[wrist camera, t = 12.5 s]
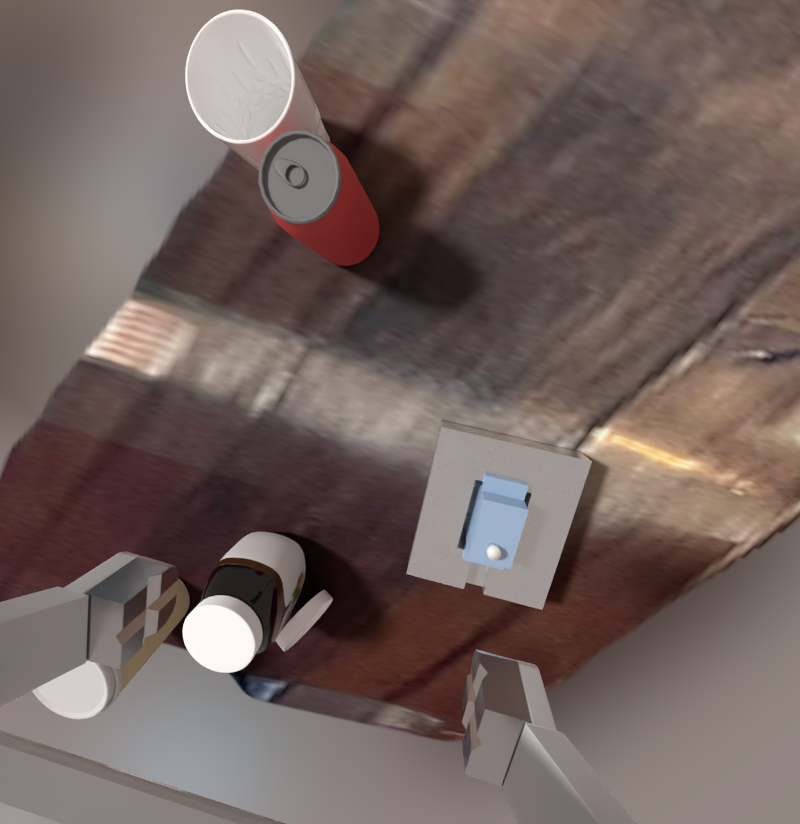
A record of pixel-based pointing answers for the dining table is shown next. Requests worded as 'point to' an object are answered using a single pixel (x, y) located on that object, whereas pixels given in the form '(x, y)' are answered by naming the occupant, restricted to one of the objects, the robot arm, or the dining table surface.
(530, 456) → the plate
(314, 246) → the beer can
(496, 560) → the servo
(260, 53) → the white cup
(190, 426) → the dining table surface
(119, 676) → the coffee cup
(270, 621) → the spread jar
